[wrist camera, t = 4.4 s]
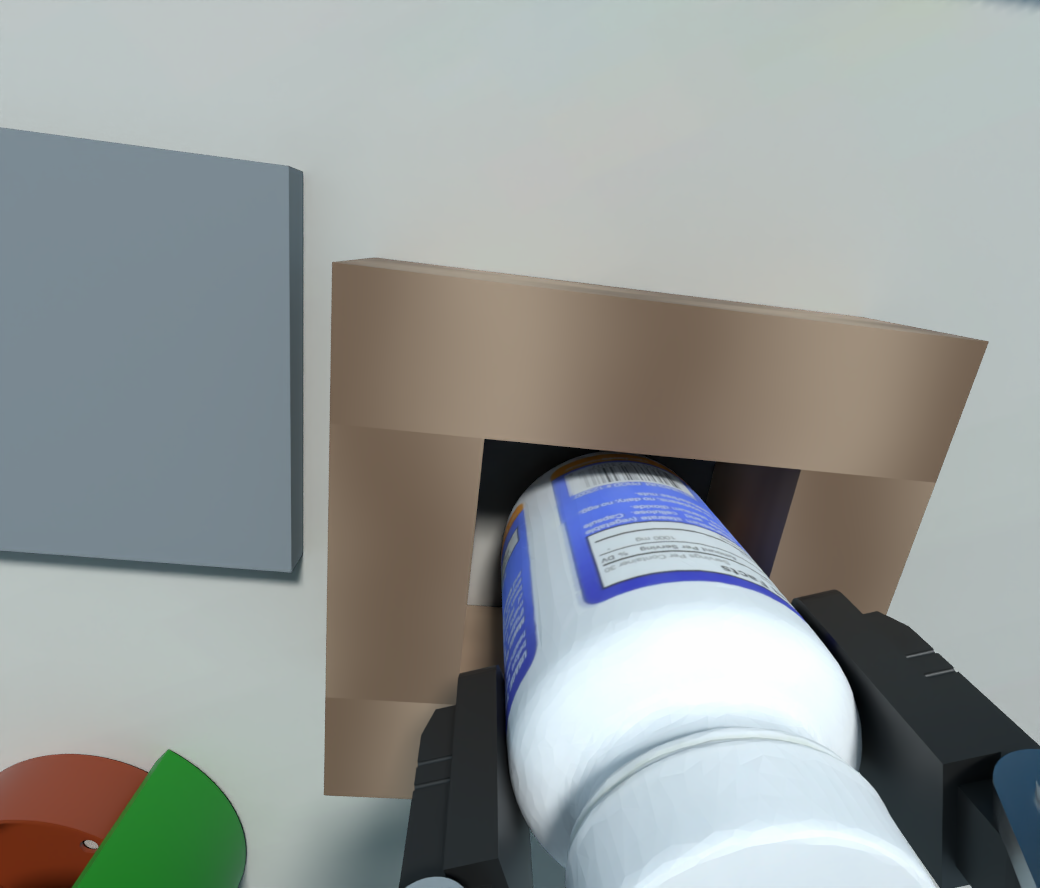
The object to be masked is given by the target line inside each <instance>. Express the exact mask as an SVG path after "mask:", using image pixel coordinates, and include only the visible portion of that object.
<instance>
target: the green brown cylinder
mask: <svg viewBox="0 0 1040 888" xmlns="http://www.w3.org/2000/svg"><path fill="white" fill-rule="evenodd" d="M84 840H92V841H94V842H96V843H97V844H98V846H99V848H98V849H89V848H87V847H85V846H84V845H83V841H84ZM245 860H246V846H245V839H244V834H243V830H242V827H241V824H240V822H239V819H238V817H237V815H236V813H235V811H234V809H233V807H232V806H231V804H230V803H229V801H228V800H227V798H226V797H225V795H224V794H223V793H222V792H221V791H220V789H219V788H218V787H217V786H216V785H215V784H214V783H213V782H212V781H211V780H210V779H209V778H208V777H207V776H206V775H205V774H204V773H202V772H201V771H200V770H199V769H198V768H196V767H195V766H194V765H192V764H191V763H190V762H188V761H187V760H185V759H184V758H182V757H180V756H179V755H177V754H175V753H174V752H172V751H170V750H167V751H166V752H165V753H164V754H163V755H162V756H161V757H160V758H159V759H158V760H157V761H156V763H155V764H154V766H153V767H152V769H151V770H150V772H149V773H147V772H145V771H143V770H141V769H138V768H136V767H134V766H131V765H128V764H125V763H122V762H119V761H116V760H112V759H108V758H103V757H97V756H91V755H81V754H59V755H48V756H42V757H37V758H33V759H29V760H26V761H23V762H20V763H17V764H15V765H13V766H11V767H9V768H7V769H5V770H3V771H2V772H0V888H238V885H239V883H240V880H241V878H242V875H243V871H244V867H245Z"/></svg>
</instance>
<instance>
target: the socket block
mask: <svg viewBox="0 0 1040 888" xmlns="http://www.w3.org/2000/svg"><path fill="white" fill-rule="evenodd" d="M987 345H988V341H983V340H978V339H973V338H967V337H962V336H957V335H952V334H947V333H941V332H936V331H931V330H926V329H921V328H916V327H910V326H905V325H900V324H895V323H890V322H885V321H879V320H874V319H869V318H864V317H856V316H847V315H839V314H831V313H823V312H815V311H806V310H798V309H790V308H782V307H774V306H766V305H757V304H749V303H741V302H733V301H725V300H717V299H708V298H700V297H692V296H684V295H676V294H667V293H659V292H651V291H643V290H635V289H627V288H618V287H610V286H602V285H594V284H586V283H577V282H569V281H561V280H553V279H545V278H537V277H528V276H520V275H512V274H504V273H496V272H488V271H479V270H471V269H463V268H455V267H447V266H438V265H430V264H422V263H414V262H406V261H398V260H389V259H381V258H367V259H358V260H349V261H340V262H332V314H331V378H330V442H329V506H328V570H327V634H326V698H325V762H324V795H330V796H352V797H375V798H398V799H412V795H413V791H414V790H415V788H414V781H415V774H416V767H418V763H417V760H418V753H419V746H420V739H421V734H422V732H423V731H424V729H425V727H426V725H427V724H428V722H429V720H430V718H431V717H432V715H433V713H434V711H435V709H439V708H444V707H448V706H453V705H456V697H457V684H458V676H459V674H460V673H463V672H467V671H472V670H476V669H481V668H485V667H489V666H494V665H499V667H500V669H501V671H502V674H503V678H504V649H503V612H502V608H501V607H487V606H474V605H467V599H468V589H469V580H470V570H471V561H472V551H473V542H474V532H475V523H476V513H477V504H478V494H479V485H480V475H481V465H482V456H483V446H484V439H493V440H503V441H514V442H524V443H534V444H544V445H555V446H565V447H575V448H585V449H596V450H606V451H616V452H626V453H637V454H647V455H657V456H667V457H678V458H688V459H698V460H708V461H716V462H715V467H714V471H713V475H712V479H711V483H710V487H709V491H708V495H707V500H706V505H707V507H708V508H709V509H710V510H711V511H712V512H713V513H714V515H715V516H716V517H717V518H718V519H719V520H720V522H721V523H722V524H723V525H724V526H725V527H726V529H727V530H728V531H729V532H730V533H731V534H732V536H733V537H734V538H735V539H736V540H737V541H738V543H739V544H740V545H741V546H742V547H743V548H744V549H745V551H746V552H747V553H748V554H749V555H750V557H751V558H752V559H753V560H754V561H755V563H756V564H757V565H758V566H759V567H760V568H761V570H762V571H763V572H764V573H765V574H766V575H767V577H768V578H769V579H770V580H771V581H772V582H773V584H774V585H775V586H776V587H777V588H778V590H779V591H780V592H781V593H782V594H783V595H784V597H785V598H786V599H787V600H788V602H789V603H790V604H791V602H792V600H793V599H794V598H798V597H802V596H806V595H811V594H815V593H820V592H824V591H829V590H833V589H835V590H838V591H840V592H841V593H842V594H843V595H844V596H845V597H846V598H847V599H848V600H849V601H850V602H851V603H852V604H853V605H854V606H855V607H856V608H857V609H858V610H859V611H860V612H861V613H862V614H866V613H870V612H875V611H878V612H880V613H882V614H884V615H886V614H887V611H888V608H889V606H890V603H891V600H892V598H893V595H894V592H895V590H896V587H897V584H898V582H899V579H900V576H901V574H902V571H903V568H904V566H905V563H906V560H907V558H908V555H909V552H910V550H911V547H912V544H913V542H914V539H915V536H916V534H917V531H918V528H919V526H920V523H921V521H922V518H923V515H924V513H925V510H926V507H927V505H928V502H929V499H930V497H931V494H932V491H933V489H934V486H935V483H936V481H937V478H938V475H939V473H940V470H941V467H942V465H943V462H944V459H945V457H946V454H947V451H948V449H949V446H950V443H951V441H952V438H953V435H954V433H955V430H956V427H957V425H958V422H959V419H960V417H961V414H962V411H963V409H964V406H965V403H966V401H967V398H968V395H969V393H970V390H971V387H972V385H973V382H974V379H975V377H976V374H977V372H978V369H979V366H980V364H981V361H982V358H983V356H984V353H985V350H986V348H987ZM504 681H505V678H504Z"/></svg>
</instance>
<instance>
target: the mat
mask: <svg viewBox="0 0 1040 888" xmlns="http://www.w3.org/2000/svg"><path fill="white" fill-rule="evenodd" d="M0 551H14V552H27V553H40V554H53V555H66V556H80V557H93V558H106V559H119V560H132V561H146V562H159V563H172V564H185V565H198V566H212V567H225V568H238V569H251V570H264V571H278V572H292V571H293V569H294V568H295V566H296V564H297V563H298V561H299V559H300V558H301V556H302V554H303V172H302V171H300V170H297V169H295V168H292V167H290V166H284V165H277V164H269V163H262V162H254V161H247V160H240V159H232V158H225V157H217V156H210V155H202V154H195V153H187V152H180V151H172V150H165V149H157V148H150V147H142V146H135V145H127V144H120V143H113V142H105V141H98V140H90V139H83V138H75V137H68V136H60V135H53V134H45V133H38V132H30V131H23V130H15V129H8V128H1V127H0Z"/></svg>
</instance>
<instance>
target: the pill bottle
mask: <svg viewBox="0 0 1040 888" xmlns="http://www.w3.org/2000/svg"><path fill="white" fill-rule="evenodd" d="M501 582H502V612H503V649H504V678H505V715H506V739H507V753H508V764H509V774H510V779H511V784H512V788H513V792H514V795H515V798H516V801H517V804H518V806H519V808H520V810H521V812H522V815H523V817H524V819H525V821H526V823H527V825H528V826H529V828H530V829H531V831H532V833H533V834H534V835H535V837H536V838H537V840H538V841H539V843H540V844H541V845H542V846H543V847H544V849H545V850H546V851H547V852H548V853H549V854H550V855H551V856H552V857H553V858H554V859H555V860H556V861H557V862H558V863H559V864H561V865H562V866H563V867H564V868H566V870H565V888H936V887H935V886H934V884H933V882H932V880H931V878H930V876H929V875H928V873H927V871H926V870H925V868H924V867H923V865H922V864H921V862H920V861H919V859H918V858H917V856H916V855H915V853H914V852H913V850H912V849H911V847H910V846H909V844H908V843H907V841H906V839H905V838H904V836H903V835H902V833H901V832H900V830H899V829H898V827H897V825H896V824H895V822H894V821H893V819H892V818H891V816H890V814H889V812H888V810H887V808H886V806H885V805H884V803H883V801H882V800H881V798H880V796H879V795H878V793H877V792H876V790H875V789H874V788H873V787H872V786H871V785H870V783H869V782H868V781H867V780H866V779H865V778H864V777H863V776H862V775H861V774H860V773H859V769H860V764H861V756H862V730H861V723H860V717H859V713H858V709H857V706H856V702H855V699H854V695H853V692H852V690H851V687H850V685H849V683H848V680H847V678H846V676H845V674H844V673H843V671H842V669H841V667H840V666H839V664H838V662H837V661H836V660H835V658H834V657H833V656H832V654H831V653H830V651H829V650H828V649H827V647H826V646H825V645H824V644H823V642H822V641H821V640H820V639H819V637H818V636H817V635H816V634H815V632H814V631H813V630H812V629H811V627H810V626H809V625H808V624H807V623H806V622H805V620H804V619H803V618H802V617H801V615H800V614H799V613H798V612H797V611H796V610H795V609H794V607H793V606H792V605H791V604H790V603H789V602H788V600H787V599H786V598H785V597H784V595H783V594H782V593H781V592H780V591H779V590H778V588H777V587H776V586H775V585H774V584H773V582H772V581H771V580H770V579H769V578H768V577H767V575H766V574H765V573H764V572H763V571H762V570H761V568H760V567H759V566H758V565H757V564H756V563H755V561H754V560H753V559H752V558H751V557H750V555H749V554H748V553H747V552H746V551H745V549H744V548H743V547H742V546H741V545H740V544H739V543H738V541H737V540H736V539H735V538H734V537H733V536H732V534H731V533H730V532H729V531H728V530H727V529H726V527H725V526H724V525H723V524H722V523H721V522H720V520H719V519H718V518H717V517H716V516H715V515H714V513H713V512H712V511H711V510H710V509H709V508H708V507H707V505H706V504H705V503H704V502H703V501H702V499H701V498H700V497H699V496H698V495H697V494H696V492H695V491H694V490H693V489H692V488H691V487H690V486H689V485H688V484H687V483H686V482H685V481H684V480H683V479H682V478H680V477H679V476H678V475H677V474H676V473H674V472H673V471H672V470H670V469H669V468H668V467H666V466H664V465H663V464H661V463H659V462H657V461H655V460H652V459H650V458H647V457H645V456H641V455H638V454H633V453H626V452H616V451H608V452H597V453H591V454H586V455H583V456H579V457H576V458H573V459H570V460H568V461H566V462H563V463H561V464H559V465H557V466H555V467H554V468H552V469H551V470H549V471H548V472H546V473H545V474H543V475H542V476H540V477H539V478H538V479H537V480H536V481H534V482H533V483H532V484H531V485H530V486H529V487H528V488H527V489H526V491H525V492H524V493H523V494H522V495H521V497H520V498H519V499H518V501H517V503H516V504H515V506H514V507H513V509H512V511H511V513H510V516H509V518H508V521H507V523H506V527H505V531H504V535H503V541H502V550H501Z"/></svg>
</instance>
